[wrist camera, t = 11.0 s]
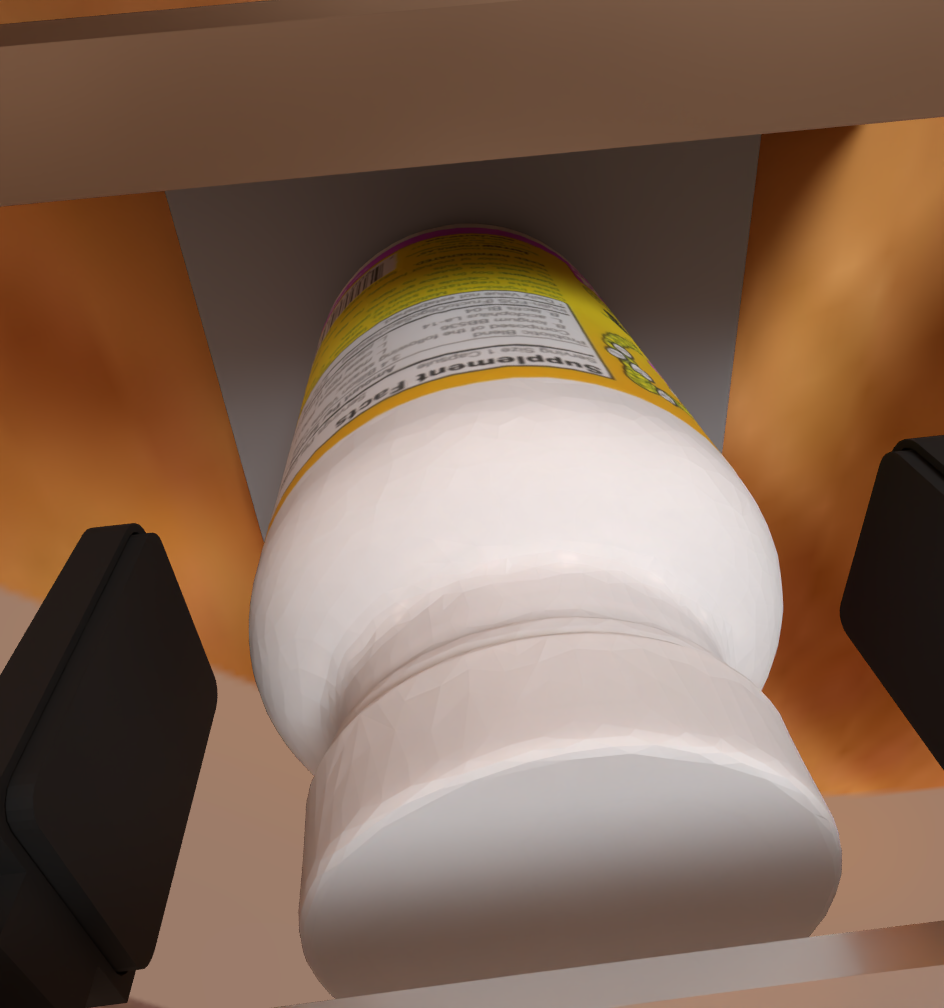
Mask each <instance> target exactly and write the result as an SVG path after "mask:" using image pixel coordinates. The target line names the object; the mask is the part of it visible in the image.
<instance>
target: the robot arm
mask: <svg viewBox="0 0 944 1008" xmlns="http://www.w3.org/2000/svg"><path fill="white" fill-rule="evenodd" d="M840 618H841V623H842V626H843V628H844V630H845V632H846V634H847V635H848V637H849V638H850V640H851V641H852V642H853V644H854V645H855V647H856V648H857V649H858V651H859V652H860V654H861V655H862V656H863V658H864V659H865V661H866V662H867V663H868V665H869V666H870V668H871V669H872V670H873V672H874V673H875V675H876V676H877V677H878V679H879V680H880V682H881V683H882V684H883V686H884V687H885V689H886V690H887V691H888V693H889V694H890V696H891V697H892V698H893V700H894V701H895V703H896V704H897V705H898V707H899V708H900V710H901V711H902V712H903V714H904V715H905V717H906V718H907V719H908V721H909V722H910V724H911V725H912V726H913V728H914V729H915V731H916V732H917V733H918V735H919V736H920V738H921V739H922V740H923V742H924V743H925V745H926V746H927V747H928V749H929V750H930V752H931V753H932V754H933V756H934V757H935V759H936V760H937V761H938V763H939V764H940V766H941V767H942V768H943V770H944V435H940V436H930V437H921V438H912V439H904V440H902V441H900V442H898V443H897V445H896V446H895V447H894V449H893V451H892V452H889V453H887V454H885V456H884V457H883V458H882V460H881V463H880V466H879V469H878V473H877V476H876V480H875V483H874V487H873V491H872V494H871V498H870V501H869V505H868V508H867V512H866V516H865V519H864V523H863V526H862V530H861V533H860V537H859V541H858V544H857V548H856V551H855V555H854V558H853V562H852V566H851V569H850V573H849V576H848V580H847V583H846V587H845V591H844V594H843V598H842V601H841V605H840ZM216 704H217V685H216V680H215V677H214V674H213V671H212V669H211V666H210V664H209V661H208V659H207V656H206V654H205V651H204V648H203V646H202V643H201V641H200V638H199V636H198V633H197V631H196V628H195V626H194V623H193V620H192V618H191V615H190V613H189V610H188V608H187V605H186V603H185V600H184V597H183V595H182V592H181V590H180V587H179V585H178V582H177V580H176V577H175V574H174V572H173V569H172V567H171V564H170V562H169V559H168V557H167V554H166V552H165V549H164V546H163V544H162V542H161V540H160V538H159V536H158V535H157V534H155V533H145V531H144V529H143V528H142V527H141V526H140V525H139V524H136V523H132V524H122V525H113V526H104V527H95V528H90V529H87V530H86V531H85V532H84V534H83V535H82V537H81V538H80V540H79V542H78V543H77V545H76V547H75V549H74V550H73V552H72V554H71V555H70V557H69V559H68V561H67V562H66V564H65V566H64V567H63V569H62V571H61V572H60V574H59V576H58V578H57V579H56V581H55V583H54V584H53V586H52V588H51V590H50V591H49V593H48V595H47V596H46V598H45V600H44V601H43V603H42V605H41V607H40V608H39V610H38V612H37V613H36V615H35V617H34V619H33V620H32V622H31V624H30V626H29V627H28V629H27V631H26V632H25V634H24V636H23V637H22V639H21V641H20V642H19V644H18V646H17V648H16V649H15V651H14V653H13V654H12V656H11V658H10V660H9V661H8V663H7V665H6V666H5V668H4V670H3V672H2V673H1V675H0V1008H90V1007H98V1006H105V1005H113V1004H121V1003H127V1001H128V998H129V994H130V990H131V986H132V983H133V979H134V975H135V971H136V970H139V969H145V968H146V967H147V966H148V964H149V962H150V961H151V959H152V956H153V953H154V950H155V946H156V943H157V938H158V935H159V931H160V927H161V923H162V919H163V915H164V911H165V907H166V903H167V899H168V895H169V891H170V887H171V883H172V879H173V876H174V871H175V868H176V863H177V860H178V856H179V852H180V848H181V844H182V840H183V836H184V832H185V828H186V824H187V820H188V816H189V812H190V808H191V804H192V800H193V797H194V792H195V789H196V784H197V780H198V777H199V773H200V769H201V765H202V761H203V757H204V753H205V749H206V745H207V741H208V737H209V733H210V729H211V726H212V722H213V717H214V714H215V710H216ZM275 1008H944V921H937V922H928V923H920V924H912V925H904V926H895V927H887V928H879V929H871V930H863V931H855V932H847V933H839V934H832V935H824V936H816V937H808V938H800V939H792V940H784V941H777V942H769V943H761V944H753V945H745V946H738V947H730V948H722V949H714V950H706V951H698V952H691V953H683V954H675V955H667V956H660V957H652V958H644V959H637V960H629V961H621V962H613V963H606V964H598V965H590V966H582V967H575V968H567V969H559V970H552V971H544V972H536V973H528V974H521V975H513V976H506V977H499V978H491V979H484V980H476V981H469V982H461V983H454V984H446V985H439V986H431V987H424V988H416V989H409V990H401V991H394V992H387V993H379V994H372V995H364V996H357V997H349V998H342V999H335V1000H327V1001H320V1002H312V1003H305V1004H297V1005H290V1006H283V1007H275Z"/></svg>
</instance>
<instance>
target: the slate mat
mask: <svg viewBox="0 0 944 1008" xmlns="http://www.w3.org/2000/svg"><path fill="white" fill-rule="evenodd" d="M760 141H761V134H757V135H746V136H736V137H725V138H715V139H704V140H694V141H683V142H673V143H662V144H652V145H641V146H631V147H620V148H610V149H599V150H589V151H578V152H568V153H557V154H547V155H536V156H526V157H515V158H505V159H494V160H484V161H473V162H463V163H452V164H442V165H431V166H421V167H410V168H400V169H389V170H379V171H368V172H358V173H347V174H337V175H326V176H316V177H305V178H295V179H284V180H274V181H263V182H253V183H242V184H232V185H221V186H211V187H200V188H190V189H179V190H169V191H165V194H166V197H167V201H168V204H169V208H170V211H171V215H172V218H173V222H174V226H175V229H176V233H177V236H178V240H179V243H180V247H181V250H182V254H183V257H184V261H185V264H186V268H187V272H188V275H189V279H190V282H191V286H192V289H193V293H194V296H195V300H196V303H197V307H198V311H199V314H200V318H201V321H202V325H203V328H204V332H205V335H206V339H207V342H208V346H209V349H210V353H211V357H212V360H213V364H214V367H215V371H216V374H217V378H218V381H219V385H220V388H221V392H222V396H223V399H224V403H225V406H226V410H227V413H228V417H229V420H230V424H231V427H232V431H233V434H234V438H235V442H236V445H237V449H238V452H239V456H240V459H241V463H242V466H243V470H244V473H245V477H246V481H247V484H248V488H249V491H250V495H251V498H252V502H253V505H254V509H255V512H256V516H257V519H258V523H259V527H260V530H261V534H262V537H263V541H264V542H265V538H266V534H267V531H268V527H269V524H270V520H271V517H272V513H273V510H274V506H275V503H276V500H277V497H278V493H279V489H280V485H281V482H282V478H283V474H284V470H285V467H286V463H287V459H288V456H289V452H290V447H291V444H292V441H293V437H294V434H295V430H296V426H297V422H298V418H299V415H300V411H301V407H302V403H303V399H304V395H305V390H306V387H307V383H308V380H309V376H310V372H311V368H312V364H313V360H314V357H315V353H316V350H317V347H318V343H319V340H320V336H321V333H322V330H323V327H324V325H325V323H326V320H327V318H328V315H329V313H330V311H331V309H332V306H333V304H334V303H335V301H336V299H337V297H338V296H339V294H340V293H341V291H342V290H343V288H344V287H345V286H346V284H347V283H348V282H349V280H350V279H351V278H352V277H353V276H354V275H355V273H356V272H357V271H358V270H359V269H360V268H361V267H362V266H363V265H364V264H365V263H366V262H368V261H369V260H370V259H371V258H372V257H374V256H375V255H376V254H377V253H379V252H380V251H382V250H384V249H385V248H387V247H388V246H390V245H391V244H393V243H395V242H397V241H399V240H401V239H403V238H405V237H407V236H410V235H412V234H415V233H418V232H421V231H424V230H428V229H433V228H437V227H442V226H446V225H454V224H484V225H493V226H498V227H504V228H507V229H511V230H514V231H518V232H520V233H523V234H526V235H528V236H530V237H532V238H534V239H537V240H538V241H540V242H542V243H544V244H546V245H547V246H549V247H550V248H552V249H553V250H555V251H556V252H558V253H559V254H560V255H562V256H563V257H564V258H565V259H566V260H568V261H569V262H570V263H571V264H572V265H573V266H574V267H575V268H576V269H577V270H578V272H579V273H580V274H581V275H582V276H583V277H584V278H585V279H586V280H587V281H588V282H589V283H590V285H591V286H592V287H593V288H594V290H595V291H596V292H597V294H598V295H599V296H600V298H601V299H602V300H603V302H604V303H605V304H606V306H607V307H608V308H609V309H610V311H611V312H612V313H613V314H614V316H615V317H616V318H617V319H618V321H619V322H620V323H621V325H622V326H623V327H624V329H625V330H626V331H627V332H628V334H629V335H630V336H631V338H632V339H633V340H634V342H635V343H636V344H637V345H638V346H639V347H640V349H641V350H642V352H643V353H644V355H645V356H646V357H647V359H648V360H649V361H650V363H651V364H652V365H653V366H654V368H655V369H656V370H657V372H658V373H659V374H660V375H661V377H662V378H663V379H664V380H665V382H666V383H667V384H668V386H669V387H670V388H671V390H672V391H673V392H674V394H675V395H676V396H677V398H678V399H679V400H680V402H681V403H682V404H683V405H684V406H685V408H686V409H687V410H688V411H689V413H690V414H691V415H692V417H693V418H694V419H695V421H696V422H697V423H698V425H699V426H700V427H701V429H702V430H703V431H704V433H705V434H706V435H707V436H708V438H709V439H710V440H711V441H712V443H713V444H714V445H715V446H716V448H717V449H718V450H719V451H720V453H721V454H722V449H723V441H724V433H725V425H726V417H727V409H728V400H729V392H730V384H731V376H732V368H733V360H734V352H735V344H736V336H737V328H738V320H739V311H740V303H741V295H742V287H743V279H744V271H745V263H746V255H747V247H748V239H749V230H750V222H751V214H752V206H753V198H754V190H755V182H756V174H757V166H758V158H759V149H760Z"/></svg>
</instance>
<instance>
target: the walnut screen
mask: <svg viewBox="0 0 944 1008" xmlns="http://www.w3.org/2000/svg"><path fill="white" fill-rule="evenodd" d="M935 117H944V0H269V1H258V2H247V3H235V4H224V5H213V6H202V7H190V8H179V9H168V10H157V11H145V12H134V13H123V14H112V15H100V16H89V17H78V18H67V19H55V20H44V21H33V22H22V23H10V24H0V207H1V206H11V205H22V204H32V203H43V202H53V201H64V200H74V199H85V198H95V197H106V196H116V195H127V194H137V193H148V192H158V191H169V190H179V189H190V188H200V187H211V186H221V185H232V184H242V183H253V182H263V181H274V180H284V179H295V178H305V177H316V176H326V175H337V174H347V173H358V172H368V171H379V170H389V169H400V168H410V167H421V166H431V165H442V164H452V163H463V162H473V161H484V160H494V159H505V158H515V157H526V156H536V155H547V154H557V153H568V152H578V151H589V150H599V149H610V148H620V147H631V146H641V145H652V144H662V143H673V142H683V141H694V140H704V139H715V138H725V137H736V136H746V135H757V134H767V133H778V132H788V131H799V130H809V129H820V128H830V127H841V126H851V125H862V124H872V123H883V122H893V121H904V120H914V119H925V118H935Z"/></svg>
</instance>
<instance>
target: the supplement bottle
mask: <svg viewBox="0 0 944 1008" xmlns="http://www.w3.org/2000/svg"><path fill="white" fill-rule="evenodd" d="M782 616H783V593H782V582H781V574H780V567H779V560H778V554H777V551H776V548H775V545H774V542H773V539H772V536H771V533H770V531H769V528H768V525H767V523H766V521H765V519H764V517H763V515H762V513H761V511H760V509H759V507H758V505H757V503H756V502H755V500H754V498H753V497H752V495H751V494H750V492H749V491H748V489H747V488H746V486H745V485H744V483H743V482H742V480H741V479H740V478H739V477H738V475H737V473H736V472H735V470H734V469H733V468H732V466H731V465H730V464H729V463H728V461H727V460H726V459H725V458H724V456H723V455H722V454H721V453H720V451H719V450H718V449H717V448H716V446H715V445H714V444H713V443H712V441H711V440H710V439H709V438H708V436H707V435H706V434H705V433H704V431H703V430H702V429H701V427H700V426H699V425H698V423H697V422H696V421H695V419H694V418H693V417H692V415H691V414H690V413H689V411H688V410H687V409H686V408H685V406H684V405H683V404H682V403H681V402H680V400H679V399H678V398H677V396H676V395H675V394H674V392H673V391H672V390H671V388H670V387H669V386H668V384H667V383H666V382H665V380H664V379H663V378H662V377H661V375H660V374H659V373H658V372H657V370H656V369H655V368H654V366H653V365H652V364H651V363H650V361H649V360H648V359H647V357H646V356H645V355H644V353H643V352H642V350H641V349H640V347H639V346H638V345H637V344H636V343H635V342H634V340H633V339H632V338H631V336H630V335H629V334H628V332H627V331H626V330H625V329H624V327H623V326H622V325H621V323H620V322H619V321H618V319H617V318H616V317H615V316H614V314H613V313H612V312H611V311H610V309H609V308H608V307H607V306H606V304H605V303H604V302H603V300H602V299H601V298H600V296H599V295H598V294H597V292H596V291H595V290H594V288H593V287H592V286H591V285H590V283H589V282H588V281H587V280H586V279H585V278H584V277H583V276H582V275H581V274H580V273H579V272H578V270H577V269H576V268H575V267H574V266H573V265H572V264H571V263H570V262H569V261H568V260H566V259H565V258H564V257H563V256H562V255H560V254H559V253H558V252H556V251H555V250H553V249H552V248H550V247H549V246H547V245H546V244H544V243H542V242H540V241H538V240H537V239H534V238H532V237H530V236H528V235H526V234H523V233H520V232H518V231H514V230H511V229H507V228H504V227H498V226H493V225H484V224H454V225H446V226H442V227H437V228H433V229H428V230H424V231H421V232H418V233H415V234H412V235H410V236H407V237H405V238H403V239H401V240H399V241H397V242H395V243H393V244H391V245H390V246H388V247H387V248H385V249H384V250H382V251H380V252H379V253H377V254H376V255H375V256H374V257H372V258H371V259H370V260H369V261H368V262H366V263H365V264H364V265H363V266H362V267H361V268H360V269H359V270H358V271H357V272H356V273H355V275H354V276H353V277H352V278H351V279H350V280H349V282H348V283H347V284H346V286H345V287H344V288H343V290H342V291H341V293H340V294H339V296H338V297H337V299H336V301H335V303H334V304H333V306H332V309H331V311H330V313H329V315H328V318H327V320H326V323H325V325H324V327H323V330H322V333H321V336H320V340H319V343H318V347H317V350H316V353H315V357H314V360H313V364H312V368H311V372H310V376H309V380H308V383H307V387H306V390H305V395H304V399H303V403H302V407H301V411H300V415H299V418H298V422H297V426H296V430H295V434H294V437H293V441H292V444H291V447H290V452H289V456H288V459H287V463H286V467H285V470H284V474H283V478H282V482H281V485H280V489H279V493H278V497H277V500H276V503H275V506H274V510H273V513H272V517H271V520H270V524H269V527H268V531H267V534H266V538H265V542H264V545H263V549H262V553H261V557H260V561H259V564H258V568H257V572H256V575H255V579H254V583H253V590H252V596H251V602H250V613H249V646H250V656H251V662H252V668H253V673H254V677H255V681H256V684H257V687H258V690H259V692H260V695H261V698H262V700H263V704H264V706H265V709H266V712H267V714H268V715H269V717H270V719H271V721H272V723H273V725H274V726H275V728H276V730H277V731H278V733H279V735H280V736H281V737H282V739H283V741H284V742H285V743H286V745H287V746H288V748H289V749H290V750H291V751H292V753H293V754H294V755H295V756H296V757H297V758H298V760H299V761H301V763H302V764H303V765H304V766H305V767H306V768H307V769H308V770H309V771H310V772H311V773H312V774H313V775H314V778H313V780H312V782H311V785H310V789H309V794H308V798H307V804H306V821H305V837H304V855H303V867H302V878H301V890H300V902H299V932H300V937H301V942H302V948H303V952H304V955H305V958H306V961H307V962H308V964H309V966H310V968H311V969H312V971H313V973H314V974H315V976H316V977H317V979H318V980H319V982H320V983H321V984H322V985H323V986H324V987H325V989H326V990H327V991H328V992H329V993H330V994H331V995H332V996H333V997H334V998H336V999H342V998H349V997H357V996H364V995H372V994H379V993H387V992H394V991H401V990H409V989H416V988H424V987H431V986H439V985H446V984H454V983H461V982H469V981H476V980H484V979H491V978H499V977H506V976H513V975H521V974H528V973H536V972H544V971H552V970H559V969H567V968H575V967H582V966H590V965H598V964H606V963H613V962H621V961H629V960H637V959H644V958H652V957H660V956H667V955H675V954H683V953H691V952H698V951H706V950H714V949H722V948H730V947H738V946H745V945H753V944H761V943H769V942H777V941H784V940H792V939H800V938H808V937H809V936H810V935H811V934H812V932H813V931H814V930H815V928H816V927H817V926H818V925H819V923H820V922H821V921H822V920H823V918H824V917H825V916H826V914H827V912H828V909H829V907H830V905H831V903H832V901H833V898H834V897H835V894H836V891H837V888H838V884H839V881H840V877H841V870H842V850H841V845H840V839H839V832H838V829H837V827H836V824H835V821H834V818H833V816H832V814H831V812H830V810H829V808H828V807H827V805H826V803H825V801H824V799H823V797H822V795H821V794H820V792H819V790H818V788H817V786H816V784H815V782H814V781H813V779H812V777H811V775H810V773H809V771H808V770H807V768H806V766H805V764H804V762H803V760H802V758H801V756H800V754H799V752H798V750H797V748H796V746H795V744H794V742H793V740H792V738H791V737H790V735H789V732H788V730H787V728H786V726H785V724H784V721H783V719H782V717H781V715H780V713H779V712H778V710H777V709H776V708H775V706H774V705H773V704H772V702H771V701H770V700H769V699H768V698H767V697H766V696H765V695H764V694H763V693H762V692H761V690H762V688H763V686H764V684H765V682H766V680H767V678H768V675H769V672H770V669H771V666H772V663H773V660H774V657H775V654H776V651H777V647H778V643H779V637H780V630H781V624H782Z"/></svg>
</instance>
